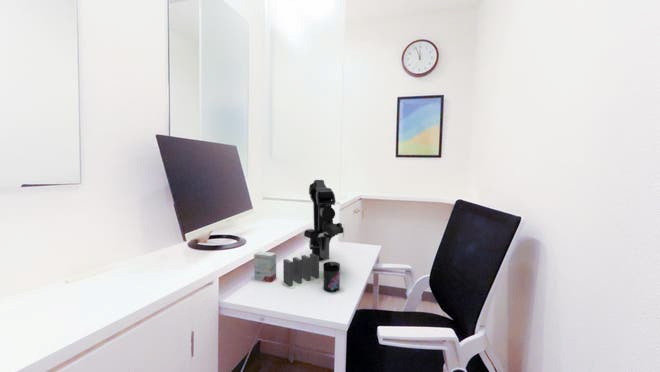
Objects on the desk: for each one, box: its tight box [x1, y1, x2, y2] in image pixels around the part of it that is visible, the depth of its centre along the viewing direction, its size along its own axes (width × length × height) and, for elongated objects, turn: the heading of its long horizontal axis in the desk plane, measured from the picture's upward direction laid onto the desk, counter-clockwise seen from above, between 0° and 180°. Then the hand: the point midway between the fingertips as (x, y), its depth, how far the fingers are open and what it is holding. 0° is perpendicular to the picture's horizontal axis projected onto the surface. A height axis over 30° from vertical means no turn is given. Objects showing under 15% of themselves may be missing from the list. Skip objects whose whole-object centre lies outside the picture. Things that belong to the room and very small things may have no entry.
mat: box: [280, 269, 324, 289], centre depth 127 cm, size 9×24×1 cm, turn 128°
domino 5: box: [320, 236, 330, 261], centre depth 131 cm, size 5×2×10 cm, turn 38°
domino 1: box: [282, 258, 293, 288], centre depth 120 cm, size 5×2×10 cm, turn 38°
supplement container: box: [322, 261, 341, 293], centre depth 116 cm, size 7×7×10 cm
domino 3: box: [300, 254, 311, 281], centre depth 125 cm, size 5×2×10 cm, turn 38°
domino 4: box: [309, 252, 320, 279], centre depth 128 cm, size 5×2×10 cm, turn 38°
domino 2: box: [292, 256, 302, 284], centre depth 122 cm, size 5×2×10 cm, turn 38°
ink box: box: [253, 250, 277, 283], centre depth 125 cm, size 9×5×12 cm, turn 71°
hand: (324, 250), depth 131 cm, fingers closed on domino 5, 2 cm apart
